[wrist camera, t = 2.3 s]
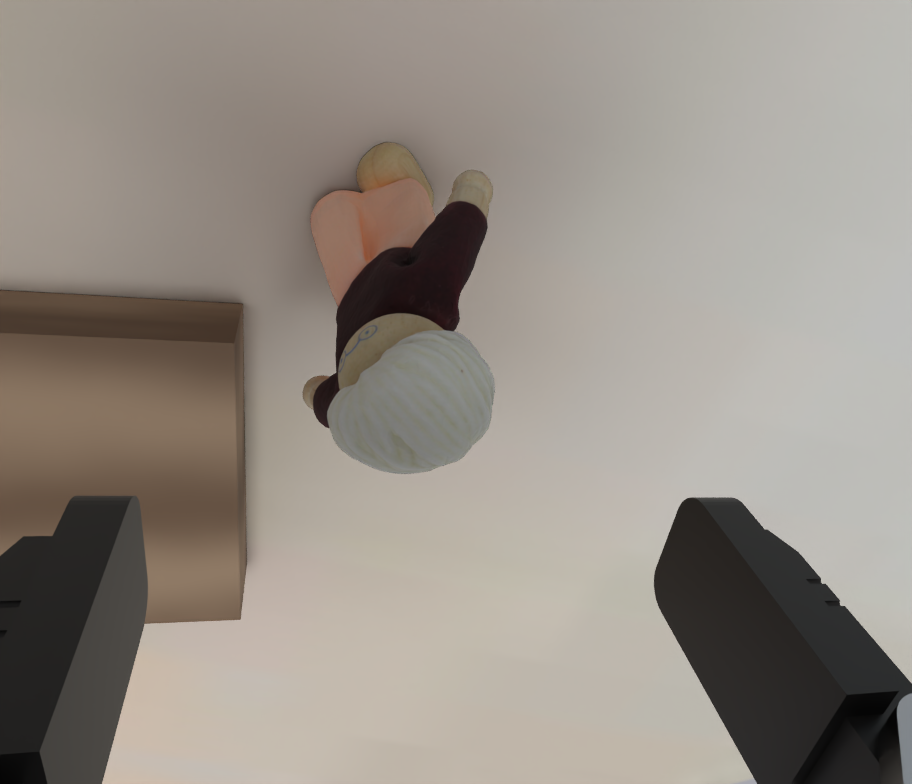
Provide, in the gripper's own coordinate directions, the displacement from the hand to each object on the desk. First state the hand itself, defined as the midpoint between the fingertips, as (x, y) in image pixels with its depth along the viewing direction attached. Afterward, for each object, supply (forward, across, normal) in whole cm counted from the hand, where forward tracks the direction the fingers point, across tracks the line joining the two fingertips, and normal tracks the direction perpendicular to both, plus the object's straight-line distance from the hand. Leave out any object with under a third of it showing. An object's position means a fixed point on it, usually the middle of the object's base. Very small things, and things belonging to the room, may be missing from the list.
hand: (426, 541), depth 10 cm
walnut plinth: (+15, +10, +9) cm, 20 cm away
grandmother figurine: (+15, 0, 0) cm, 15 cm away
